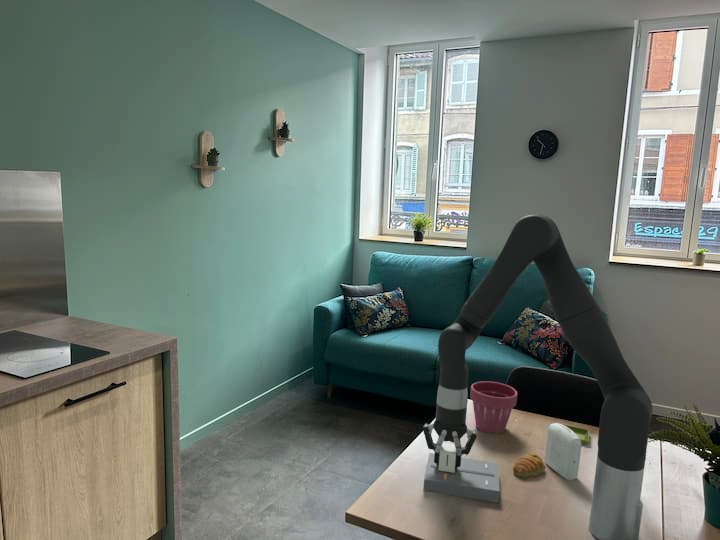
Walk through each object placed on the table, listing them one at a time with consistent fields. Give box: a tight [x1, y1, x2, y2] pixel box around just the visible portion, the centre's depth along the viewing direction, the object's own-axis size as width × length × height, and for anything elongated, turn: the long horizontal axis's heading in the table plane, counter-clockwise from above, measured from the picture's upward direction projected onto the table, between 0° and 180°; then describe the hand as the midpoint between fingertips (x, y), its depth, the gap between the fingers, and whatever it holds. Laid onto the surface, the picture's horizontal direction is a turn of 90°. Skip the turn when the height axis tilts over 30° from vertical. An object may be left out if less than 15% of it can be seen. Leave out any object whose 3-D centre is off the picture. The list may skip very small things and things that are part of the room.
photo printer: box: [544, 422, 582, 481], centre depth 143 cm, size 10×4×12 cm, turn 17°
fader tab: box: [439, 442, 456, 473], centre depth 136 cm, size 4×5×5 cm
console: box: [422, 452, 501, 504], centre depth 136 cm, size 18×14×3 cm
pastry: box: [512, 453, 547, 479], centre depth 143 cm, size 9×7×4 cm
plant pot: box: [469, 380, 518, 434], centre depth 168 cm, size 14×14×13 cm
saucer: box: [561, 423, 590, 445], centre depth 165 cm, size 9×9×2 cm
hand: (447, 465), depth 136 cm, fingers closed on fader tab, 4 cm apart
